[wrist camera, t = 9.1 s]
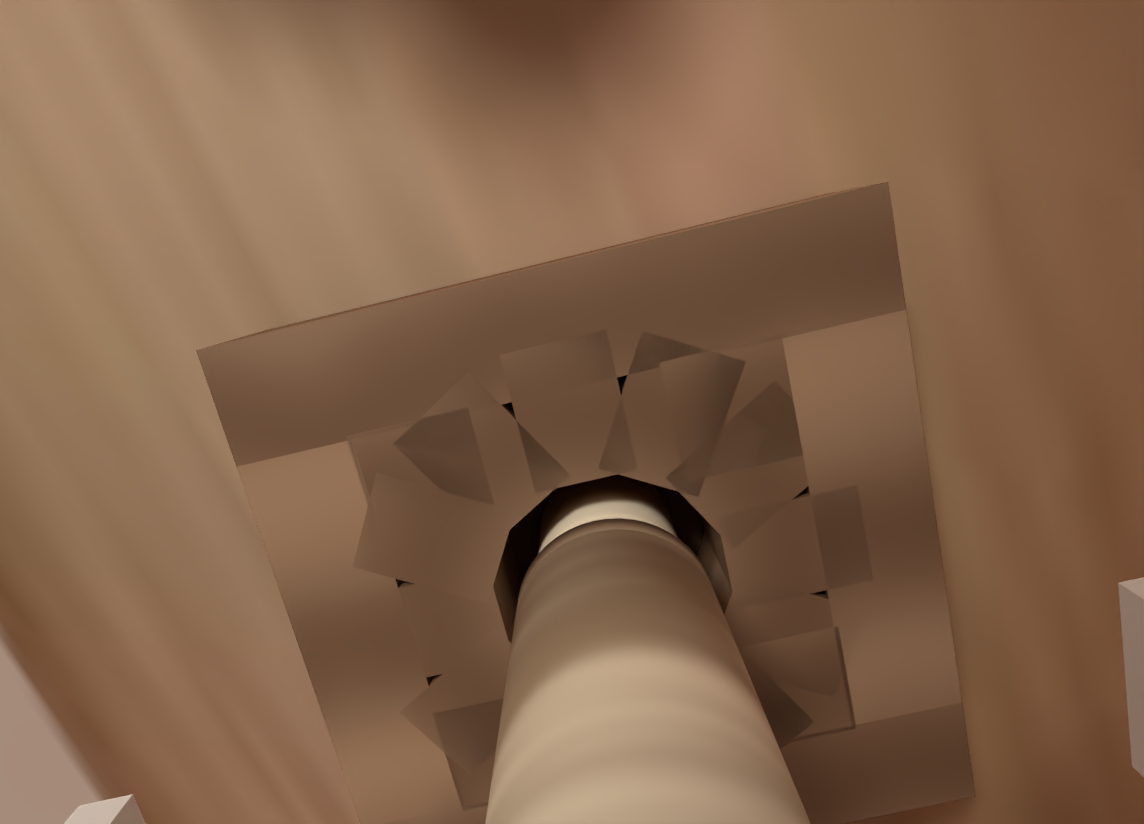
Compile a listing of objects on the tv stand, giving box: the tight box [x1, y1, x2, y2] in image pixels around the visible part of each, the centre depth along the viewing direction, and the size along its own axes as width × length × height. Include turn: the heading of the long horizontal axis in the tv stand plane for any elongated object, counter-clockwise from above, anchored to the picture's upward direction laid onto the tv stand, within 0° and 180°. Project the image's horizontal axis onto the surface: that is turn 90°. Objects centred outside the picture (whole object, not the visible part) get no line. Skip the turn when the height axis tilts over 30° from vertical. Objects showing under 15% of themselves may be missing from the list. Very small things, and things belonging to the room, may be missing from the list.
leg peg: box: [485, 474, 811, 824], centre depth 13 cm, size 4×4×14 cm
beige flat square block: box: [196, 182, 975, 824], centre depth 18 cm, size 14×14×4 cm
